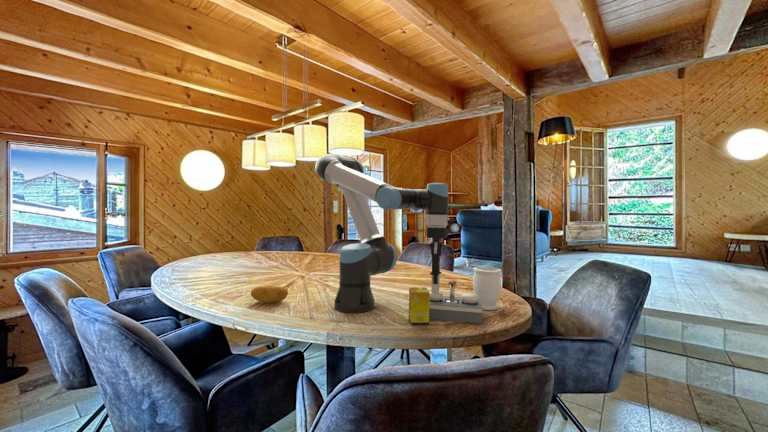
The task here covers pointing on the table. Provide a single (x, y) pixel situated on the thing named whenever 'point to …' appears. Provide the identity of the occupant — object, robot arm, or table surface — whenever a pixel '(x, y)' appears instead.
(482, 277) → the white tapered cup
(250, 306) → the table surface
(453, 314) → the mount
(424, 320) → the supplement box
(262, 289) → the potato
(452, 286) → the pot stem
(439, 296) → the knob left
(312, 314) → the table surface
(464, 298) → the knob right
